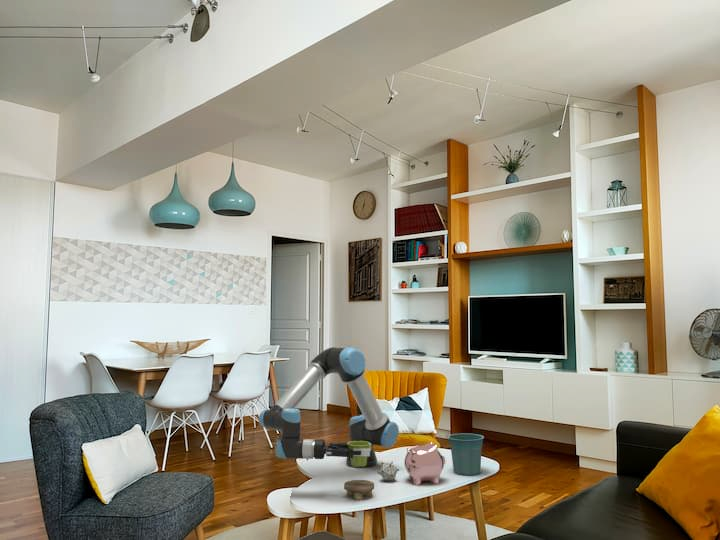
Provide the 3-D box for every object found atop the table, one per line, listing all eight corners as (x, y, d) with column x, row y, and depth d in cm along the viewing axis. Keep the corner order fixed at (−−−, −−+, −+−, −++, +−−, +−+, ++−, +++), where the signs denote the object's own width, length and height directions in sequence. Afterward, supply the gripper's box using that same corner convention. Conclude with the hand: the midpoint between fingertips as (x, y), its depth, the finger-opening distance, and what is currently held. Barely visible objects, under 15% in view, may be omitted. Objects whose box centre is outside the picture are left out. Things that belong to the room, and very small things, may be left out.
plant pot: (354, 461, 226) (354, 439, 227) (374, 464, 221) (374, 442, 222) (342, 466, 218) (342, 443, 219) (362, 469, 213) (362, 446, 214)
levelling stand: (345, 490, 225) (345, 479, 225) (375, 491, 224) (374, 480, 224) (342, 500, 213) (342, 488, 213) (373, 500, 212) (373, 488, 212)
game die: (391, 490, 238) (397, 475, 233) (373, 482, 239) (378, 467, 235) (397, 475, 245) (403, 460, 240) (380, 468, 247) (384, 452, 242)
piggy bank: (451, 484, 234) (450, 445, 235) (410, 487, 230) (410, 448, 231) (438, 475, 248) (437, 438, 250) (400, 477, 245) (399, 440, 246)
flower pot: (447, 475, 247) (446, 439, 249) (450, 467, 263) (449, 432, 265) (484, 478, 243) (483, 440, 245) (485, 468, 259) (484, 433, 261)
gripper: (318, 452, 232) (372, 453, 230) (309, 465, 211) (368, 466, 209) (318, 434, 233) (372, 435, 231) (310, 445, 212) (368, 445, 210)
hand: (370, 450), depth 220 cm, fingers closed on plant pot, 8 cm apart
